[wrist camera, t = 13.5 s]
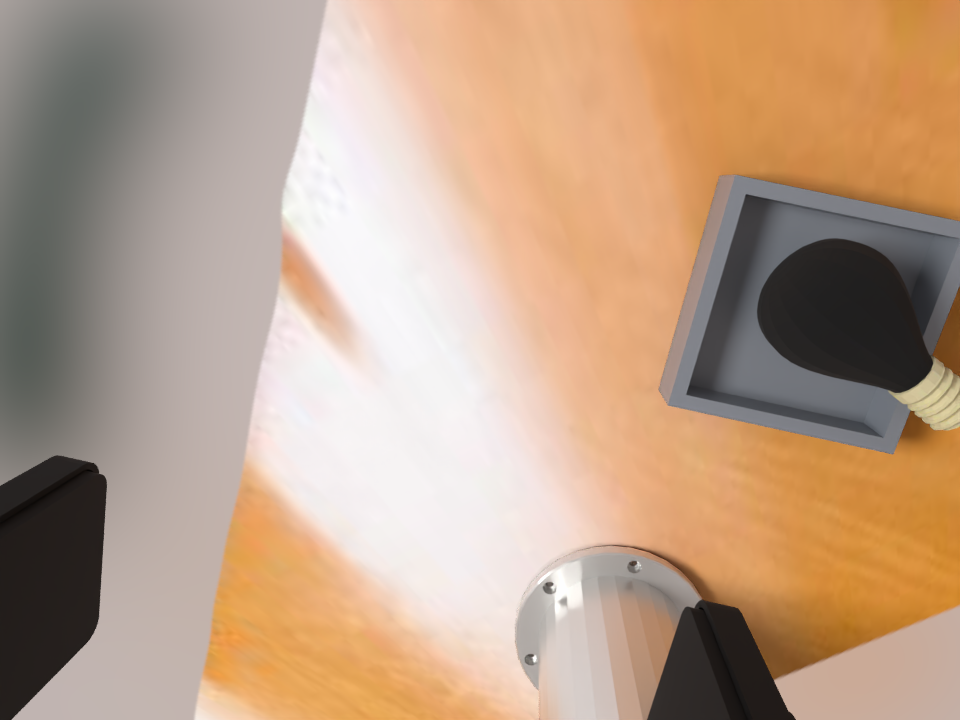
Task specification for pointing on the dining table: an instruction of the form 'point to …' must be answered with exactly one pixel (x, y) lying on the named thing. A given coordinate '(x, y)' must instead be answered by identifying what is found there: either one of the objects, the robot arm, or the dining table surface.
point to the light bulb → (856, 326)
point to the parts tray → (734, 299)
